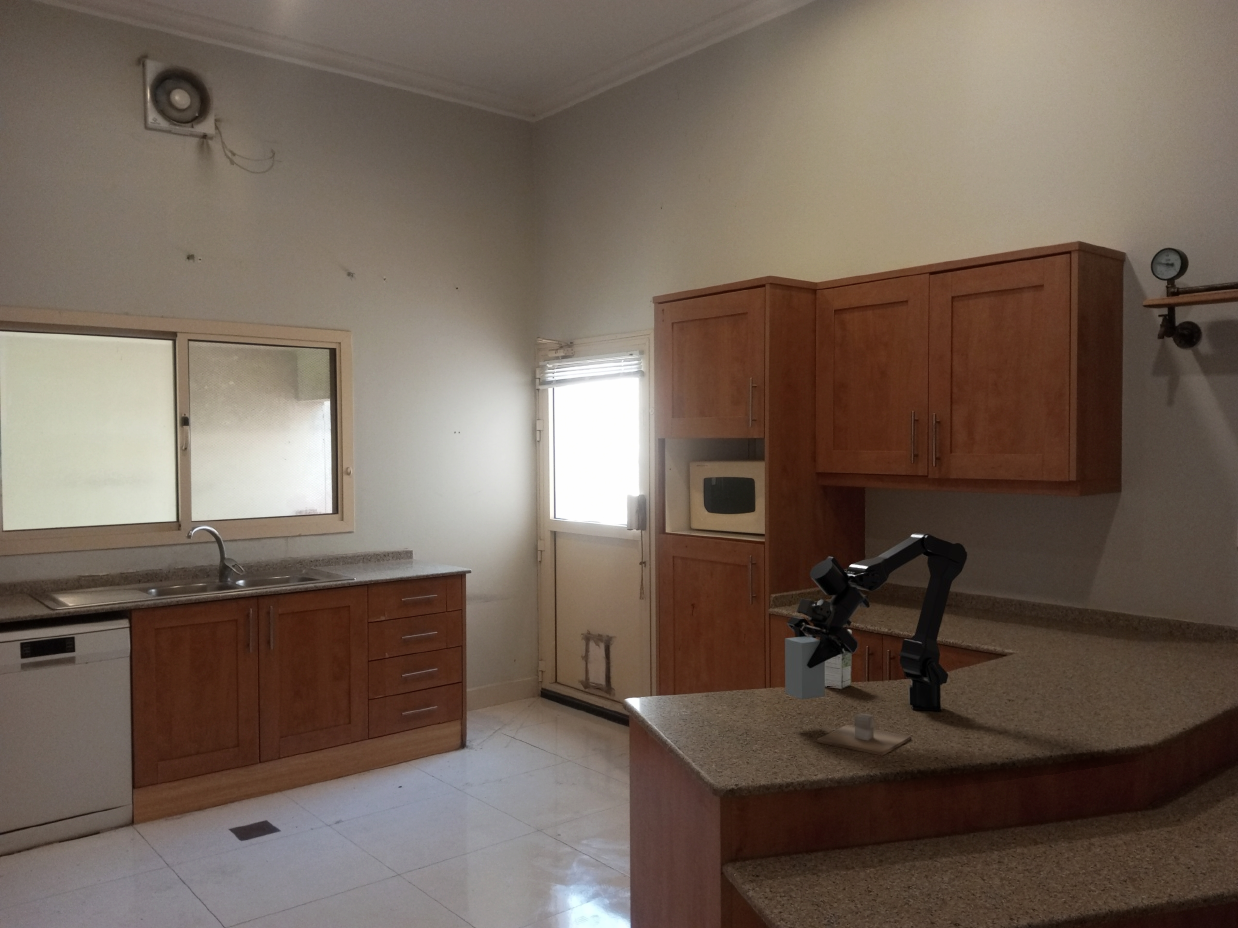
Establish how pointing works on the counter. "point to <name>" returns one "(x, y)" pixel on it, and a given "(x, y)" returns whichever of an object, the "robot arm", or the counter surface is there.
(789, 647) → the tall slate pillar
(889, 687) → the counter surface
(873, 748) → the post base
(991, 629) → the counter surface
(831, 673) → the syrup box
